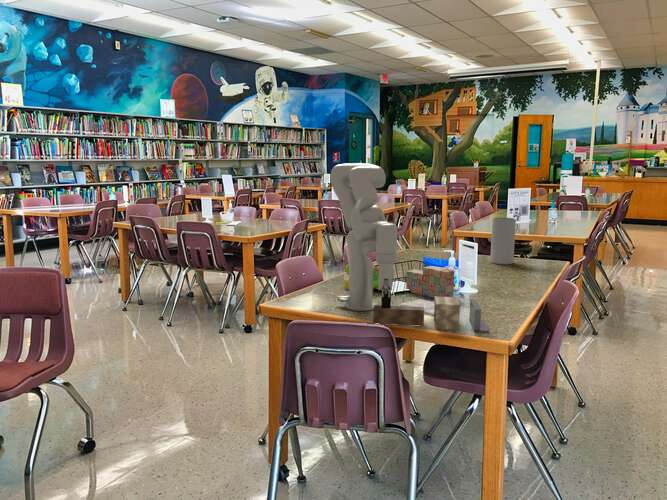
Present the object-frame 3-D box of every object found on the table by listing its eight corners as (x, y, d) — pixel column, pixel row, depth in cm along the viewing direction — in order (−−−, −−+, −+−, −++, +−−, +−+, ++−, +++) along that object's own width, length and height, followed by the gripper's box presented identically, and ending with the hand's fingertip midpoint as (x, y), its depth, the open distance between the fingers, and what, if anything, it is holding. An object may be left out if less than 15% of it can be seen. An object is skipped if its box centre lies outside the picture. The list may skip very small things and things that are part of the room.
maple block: (435, 329, 204) (436, 304, 203) (433, 320, 215) (434, 296, 214) (458, 329, 203) (460, 304, 202) (455, 321, 214) (456, 297, 213)
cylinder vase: (514, 261, 333) (516, 218, 329) (512, 265, 321) (515, 220, 317) (491, 260, 337) (493, 217, 333) (489, 263, 326) (491, 219, 322)
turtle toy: (362, 281, 280) (363, 257, 278) (393, 290, 261) (394, 265, 259) (333, 285, 270) (333, 260, 268) (363, 295, 251) (364, 269, 250)
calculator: (420, 302, 242) (420, 298, 242) (459, 312, 227) (460, 308, 227) (398, 308, 233) (398, 303, 233) (438, 318, 219) (438, 314, 218)
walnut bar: (373, 324, 210) (373, 308, 209) (373, 321, 214) (374, 305, 213) (423, 326, 208) (424, 310, 207) (423, 322, 212) (423, 306, 211)
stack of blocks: (405, 291, 260) (406, 264, 258) (414, 289, 264) (415, 262, 262) (445, 300, 245) (446, 271, 243) (453, 297, 249) (455, 269, 247)
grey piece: (474, 331, 201) (475, 309, 200) (469, 320, 215) (470, 299, 214) (488, 332, 201) (490, 309, 200) (483, 320, 215) (484, 299, 213)
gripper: (376, 254, 216) (376, 300, 218) (374, 261, 199) (374, 310, 201) (397, 254, 215) (396, 300, 217) (396, 261, 198) (396, 310, 200)
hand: (386, 305), depth 209 cm, fingers open, 9 cm apart
